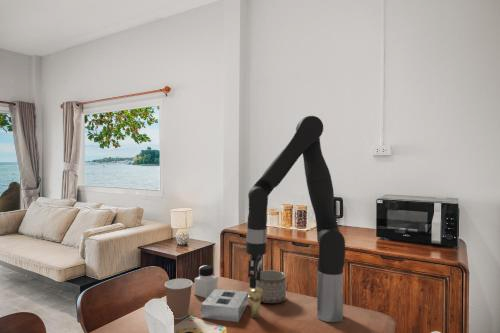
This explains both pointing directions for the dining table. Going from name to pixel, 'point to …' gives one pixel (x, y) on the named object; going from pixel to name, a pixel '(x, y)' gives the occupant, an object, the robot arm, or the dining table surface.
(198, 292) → the medicine bottle
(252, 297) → the brass knob
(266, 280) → the planter
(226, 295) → the jig
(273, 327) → the dining table surface
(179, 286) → the coffee cup
